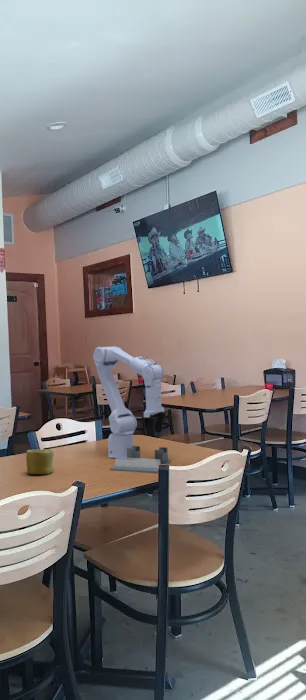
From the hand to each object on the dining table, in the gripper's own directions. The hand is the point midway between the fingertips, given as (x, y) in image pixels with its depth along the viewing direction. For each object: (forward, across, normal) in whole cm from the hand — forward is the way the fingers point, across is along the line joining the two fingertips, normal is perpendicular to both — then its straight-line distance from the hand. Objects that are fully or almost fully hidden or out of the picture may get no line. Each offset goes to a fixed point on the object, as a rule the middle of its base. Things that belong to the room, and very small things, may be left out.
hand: (154, 434), depth 211 cm
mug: (+11, -25, +33) cm, 42 cm away
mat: (+10, -12, +2) cm, 16 cm away
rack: (+10, -2, +2) cm, 11 cm away
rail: (+8, -11, +2) cm, 14 cm away
